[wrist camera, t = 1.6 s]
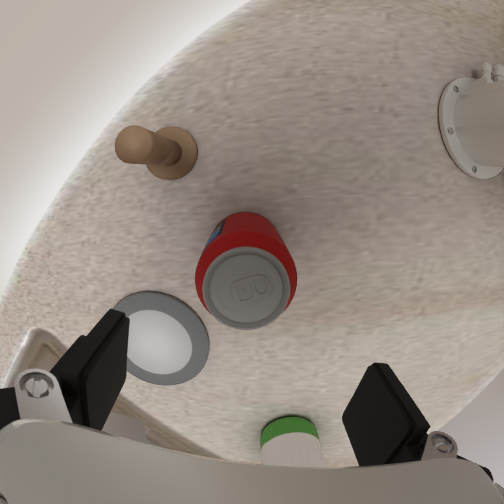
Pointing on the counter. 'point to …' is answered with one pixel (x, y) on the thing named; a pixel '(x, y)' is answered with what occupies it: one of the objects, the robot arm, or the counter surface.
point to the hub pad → (163, 338)
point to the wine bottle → (291, 444)
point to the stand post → (158, 150)
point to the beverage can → (245, 272)
